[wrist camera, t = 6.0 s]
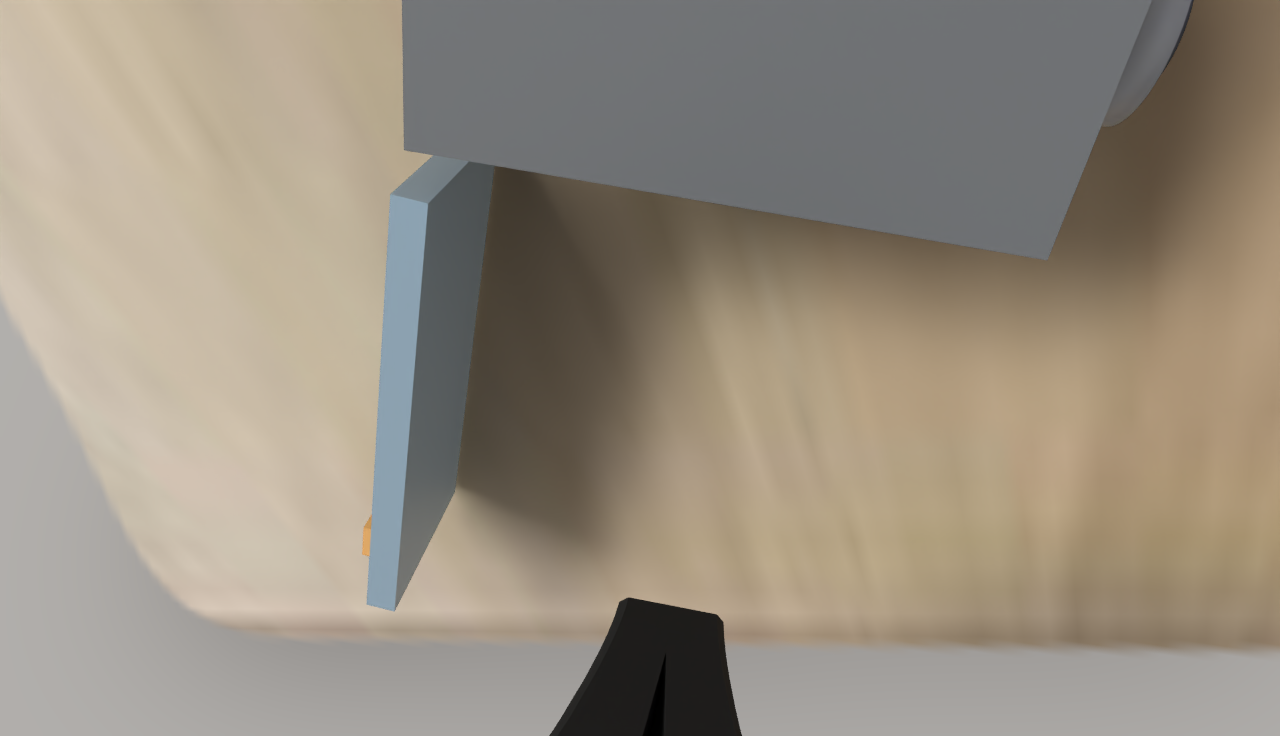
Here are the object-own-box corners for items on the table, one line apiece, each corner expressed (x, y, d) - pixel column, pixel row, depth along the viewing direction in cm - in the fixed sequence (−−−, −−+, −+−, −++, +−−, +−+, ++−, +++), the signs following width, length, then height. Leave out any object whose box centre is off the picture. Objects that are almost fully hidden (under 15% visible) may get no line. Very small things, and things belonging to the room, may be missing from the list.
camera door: (454, 491, 22) (394, 611, 19) (407, 479, 22) (338, 597, 19) (498, 131, 17) (427, 203, 14) (438, 116, 17) (352, 184, 14)
